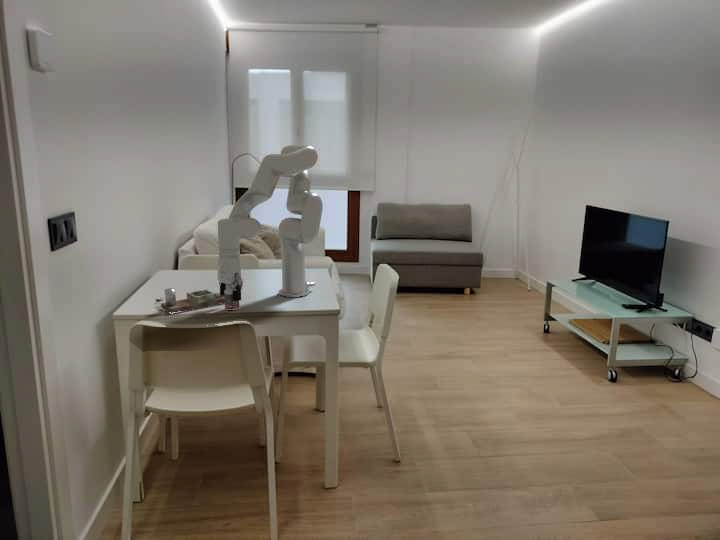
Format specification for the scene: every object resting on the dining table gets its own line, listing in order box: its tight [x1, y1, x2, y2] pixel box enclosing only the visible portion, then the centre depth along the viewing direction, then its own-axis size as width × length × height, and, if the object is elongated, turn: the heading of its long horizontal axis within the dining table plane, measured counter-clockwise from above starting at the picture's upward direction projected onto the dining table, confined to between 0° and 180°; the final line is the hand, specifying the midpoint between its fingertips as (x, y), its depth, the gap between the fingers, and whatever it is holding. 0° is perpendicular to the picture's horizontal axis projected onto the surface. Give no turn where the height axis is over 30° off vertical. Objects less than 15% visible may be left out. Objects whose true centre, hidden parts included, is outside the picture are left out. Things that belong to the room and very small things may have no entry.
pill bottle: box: [224, 284, 240, 311], centre depth 199 cm, size 5×5×10 cm
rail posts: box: [164, 287, 177, 307], centre depth 204 cm, size 28×4×6 cm, turn 131°
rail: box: [160, 288, 225, 313], centre depth 205 cm, size 28×9×4 cm, turn 131°
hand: (230, 297), depth 199 cm, fingers open, 9 cm apart
